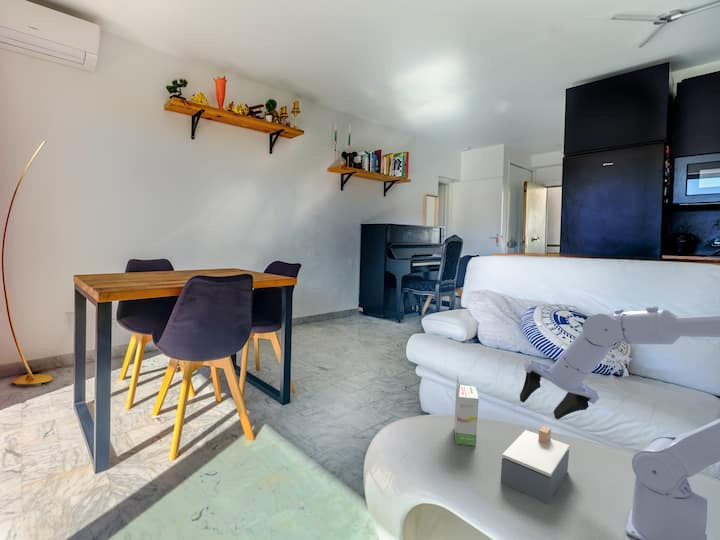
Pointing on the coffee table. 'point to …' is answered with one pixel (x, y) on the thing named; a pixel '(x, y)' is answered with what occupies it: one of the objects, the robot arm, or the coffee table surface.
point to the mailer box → (533, 479)
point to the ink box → (466, 414)
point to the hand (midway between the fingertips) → (538, 407)
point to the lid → (537, 451)
